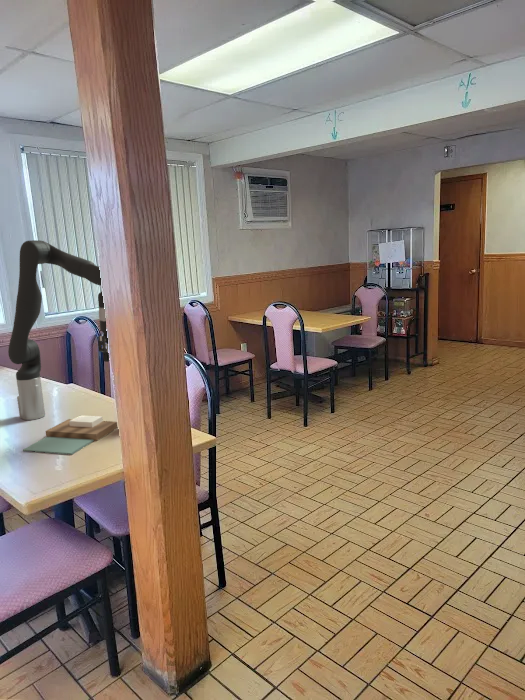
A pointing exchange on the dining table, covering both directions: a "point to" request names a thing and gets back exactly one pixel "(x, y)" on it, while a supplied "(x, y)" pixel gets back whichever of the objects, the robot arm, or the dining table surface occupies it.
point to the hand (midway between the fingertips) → (112, 359)
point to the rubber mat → (59, 445)
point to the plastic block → (86, 421)
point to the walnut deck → (81, 430)
